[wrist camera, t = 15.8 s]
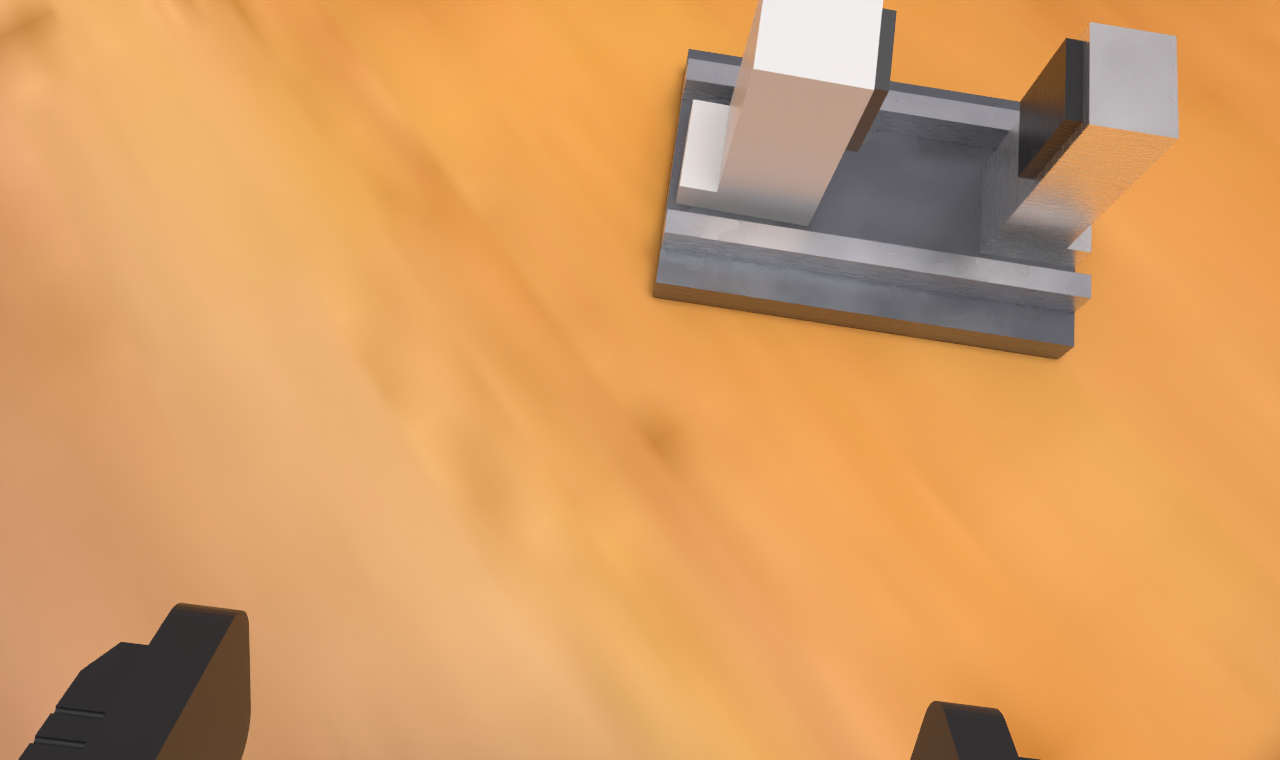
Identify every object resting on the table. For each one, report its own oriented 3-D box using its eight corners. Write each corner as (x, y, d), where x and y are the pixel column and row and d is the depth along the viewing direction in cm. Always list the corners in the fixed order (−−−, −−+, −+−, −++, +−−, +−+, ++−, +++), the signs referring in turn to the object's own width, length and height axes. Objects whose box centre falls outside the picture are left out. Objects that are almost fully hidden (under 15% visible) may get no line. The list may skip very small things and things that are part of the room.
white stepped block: (675, 203, 46) (707, 60, 37) (689, 119, 47) (723, -40, 38) (822, 228, 46) (892, 93, 37) (831, 143, 48) (901, -9, 38)
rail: (652, 296, 46) (683, 156, 35) (685, 69, 50) (722, -123, 39) (1058, 359, 47) (1211, 239, 36) (1061, 129, 50) (1201, -44, 40)
